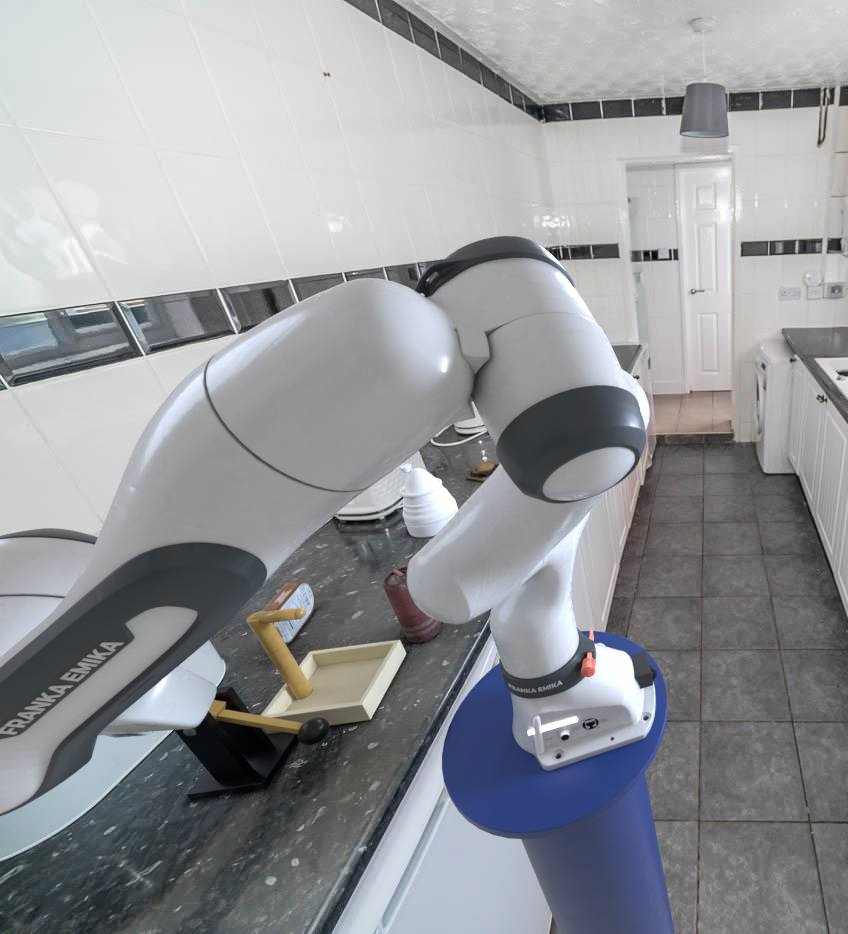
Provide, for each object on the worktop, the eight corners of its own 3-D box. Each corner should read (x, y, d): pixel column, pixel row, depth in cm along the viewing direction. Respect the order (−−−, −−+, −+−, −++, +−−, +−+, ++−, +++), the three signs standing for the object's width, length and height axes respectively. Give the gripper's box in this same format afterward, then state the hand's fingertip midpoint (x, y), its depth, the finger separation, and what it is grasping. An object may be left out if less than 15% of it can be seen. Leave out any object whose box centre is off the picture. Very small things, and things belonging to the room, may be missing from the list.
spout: (351, 684, 84) (306, 603, 76) (344, 696, 82) (297, 613, 74) (302, 691, 83) (252, 609, 75) (293, 703, 81) (240, 620, 73)
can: (427, 617, 98) (404, 561, 92) (448, 625, 95) (426, 569, 89) (399, 638, 93) (372, 581, 87) (421, 648, 90) (395, 589, 84)
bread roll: (484, 482, 151) (481, 472, 150) (465, 479, 155) (462, 468, 153) (509, 468, 160) (506, 458, 158) (490, 464, 163) (487, 454, 161)
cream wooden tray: (406, 653, 90) (400, 639, 88) (370, 719, 77) (362, 704, 76) (318, 665, 88) (309, 651, 87) (267, 734, 76) (256, 719, 75)
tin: (308, 604, 104) (290, 573, 100) (324, 601, 104) (307, 570, 101) (267, 658, 91) (245, 625, 87) (285, 655, 91) (265, 621, 87)
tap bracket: (301, 736, 76) (260, 674, 69) (266, 788, 68) (217, 724, 62) (233, 746, 75) (185, 684, 69) (190, 800, 68) (133, 736, 61)
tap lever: (332, 729, 73) (336, 714, 72) (318, 752, 70) (322, 737, 68) (204, 707, 68) (207, 690, 67) (183, 730, 65) (185, 713, 64)
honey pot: (405, 542, 123) (380, 480, 115) (412, 518, 134) (389, 459, 126) (459, 529, 127) (439, 468, 119) (462, 507, 138) (443, 449, 130)
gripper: (-205, 745, 35) (-3, 773, 46) (108, 723, 37) (232, 754, 48) (-120, 657, 39) (48, 701, 50) (159, 641, 41) (263, 687, 52)
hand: (140, 727), depth 49 cm, fingers closed
